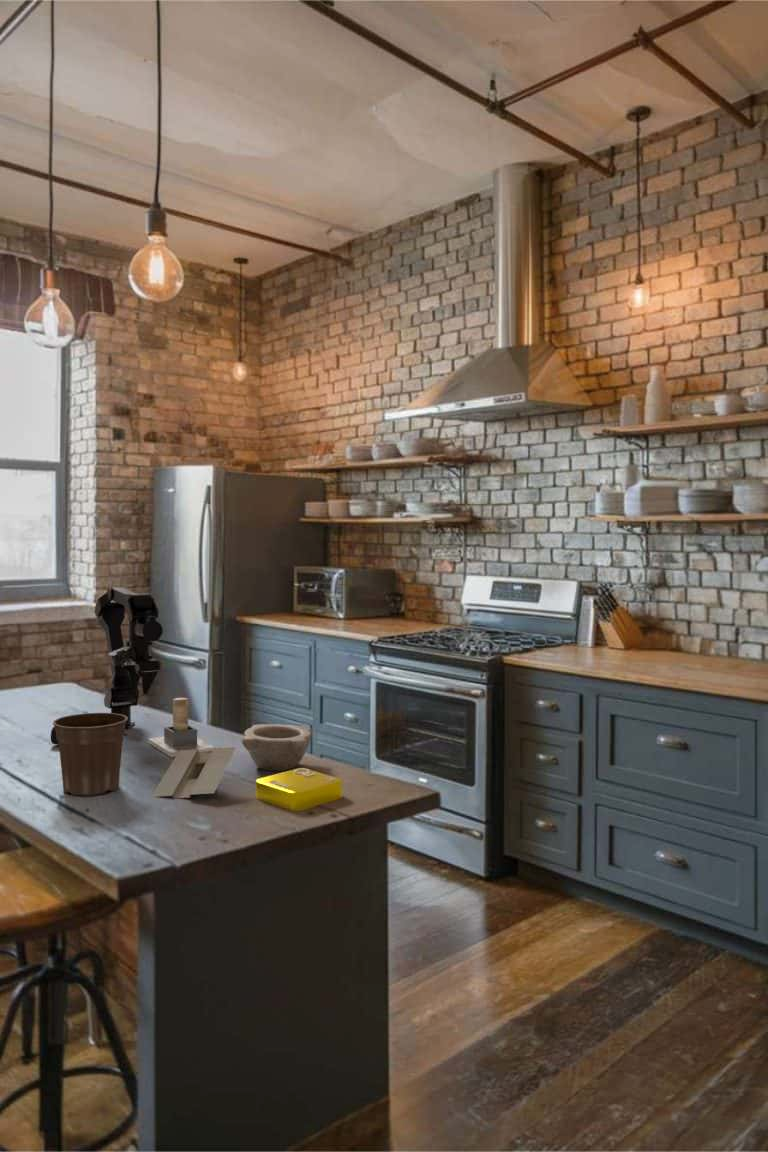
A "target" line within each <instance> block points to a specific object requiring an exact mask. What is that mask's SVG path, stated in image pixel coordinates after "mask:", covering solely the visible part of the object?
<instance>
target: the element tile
mask: <svg viewBox="0 0 768 1152" xmlns="http://www.w3.org/2000/svg"><path fill="white" fill-rule="evenodd" d="M342 798H343V779H341V778H339V777H336V776H332V775H329V774H325V773H322V772H319V771H314V770H312V769H310V768H305V767H298V768H293V769H289V770H285V771H282V772H279V773H278V772H277V773H275V774H272V775H271V774H270V775H267V776H263V777H259V778H257V779H256V780H255V799H257V800H260V801H263V802H266V803H269V804H272V805H274V806H277V807H279V808H280V807H281V808H283V809H286V810H289V811H294V812H295V811H297V812H298V811H299V812H300V811H304V810H307V809H311V808H315V807H317V806H320V805H321V806H322V805H323V804H327V803H331V802H334V801H336V800H339V799H342Z"/></svg>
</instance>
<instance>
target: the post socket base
mask: <svg viewBox="0 0 768 1152" xmlns="http://www.w3.org/2000/svg"><path fill="white" fill-rule="evenodd" d="M163 731H164V732H163V736H160V737H159V736H158V737H151V738H148V739H147V743H148V744H149V745H151V746H152V747H153V748H156V749H157V750H159V751H160V752H161V753H163V754H165V755H166V756H168V757H170V758H171V759H172V758H175V757H176V756H177V754H178V753H179V751H180V750H196V749H198V752H199V753H212V751H213V749H214V748H215V746H213V745H212V744H210V743H207V742H206V741H205V740H202V739H200V738H198V729H197V728H196V727H194V726H192V725H189V724H188V730H184V731H176V732H174V731H173V725H172V726H165V727H164V728H163Z"/></svg>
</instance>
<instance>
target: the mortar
mask: <svg viewBox="0 0 768 1152" xmlns="http://www.w3.org/2000/svg"><path fill="white" fill-rule="evenodd" d="M312 733H313V729H312V728H311V727H309V726H305V725H294V724H281V723H278V724H277V723H275V724H274V723H266V724H265V723H264V724H263V723H261V724H254V725H251V727H249V728H247V729H246V730H245V731H244V733H243V737H242V739H241V743H242V745H243V747H244V748H245V749H246V750H247V752H248V753H249V755H250V758H251V760H252V761H253V762H254V765H256V766H257V767H258V768H260V769H263V770H265V771H274V772H276V771H277V772H279V771H280V772H281V771H282V772H283V771H289V770H292V769H295V767H297V766H298V765H299V764H300V763H301V761H302V759H303V758H304V756H305V754H306V752H307V750H308V747H309V745H310V742H311V740H312Z"/></svg>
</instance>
